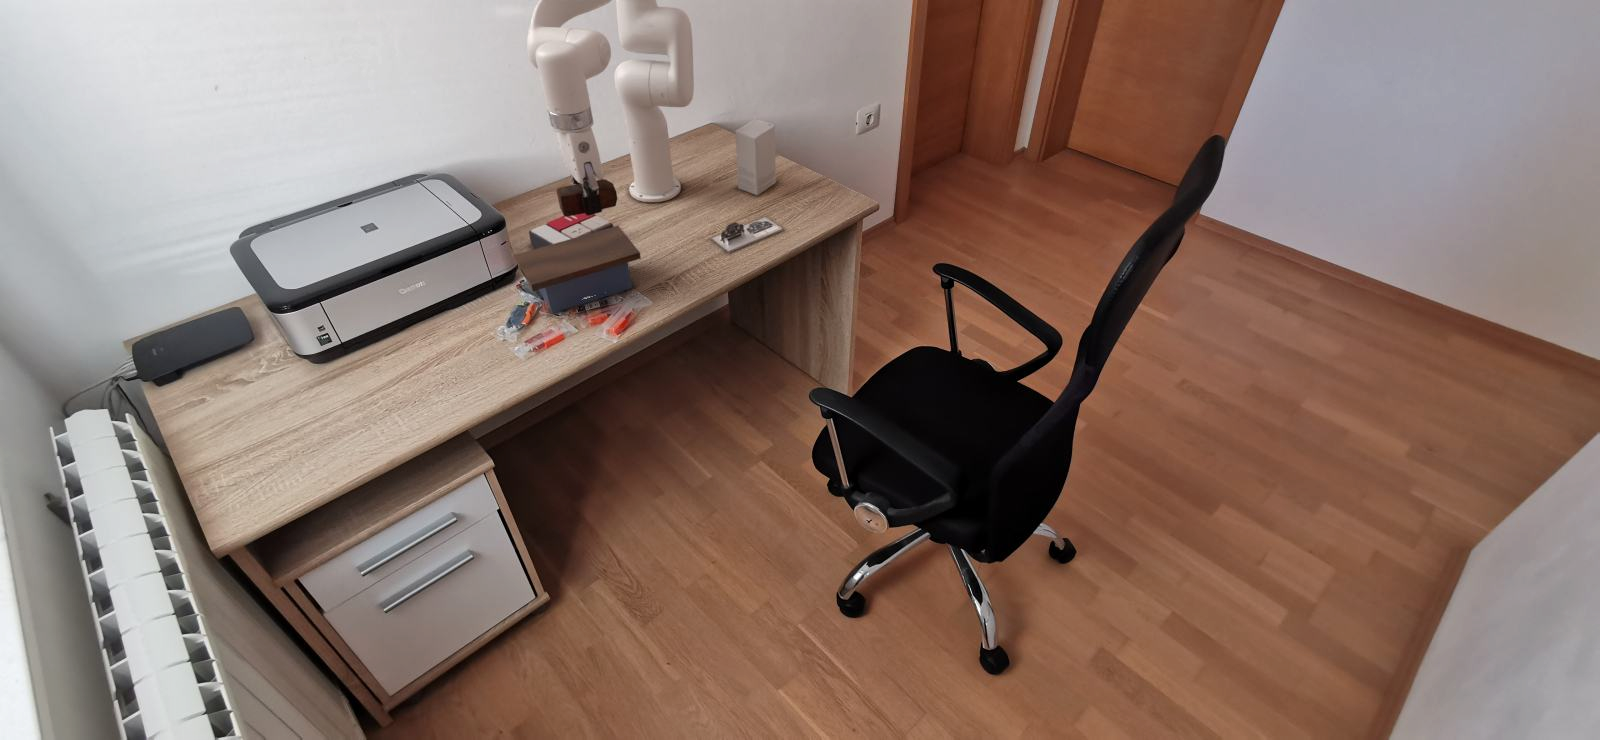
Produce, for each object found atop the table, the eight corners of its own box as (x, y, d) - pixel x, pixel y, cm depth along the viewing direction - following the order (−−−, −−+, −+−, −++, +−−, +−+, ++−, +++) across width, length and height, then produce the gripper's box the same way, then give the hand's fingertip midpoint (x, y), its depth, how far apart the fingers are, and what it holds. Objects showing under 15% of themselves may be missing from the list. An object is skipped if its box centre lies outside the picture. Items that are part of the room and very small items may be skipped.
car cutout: (729, 252, 165) (727, 234, 162) (712, 239, 169) (711, 222, 166) (782, 230, 172) (782, 213, 169) (765, 218, 176) (764, 201, 173)
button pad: (613, 221, 168) (557, 246, 159) (615, 238, 171) (561, 263, 161) (582, 205, 173) (527, 228, 164) (585, 221, 176) (530, 245, 167)
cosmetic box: (757, 176, 192) (755, 117, 181) (778, 183, 189) (777, 124, 179) (736, 189, 187) (733, 129, 176) (757, 196, 184) (755, 136, 174)
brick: (565, 218, 143) (560, 196, 139) (560, 209, 145) (555, 187, 142) (619, 207, 146) (615, 185, 143) (613, 197, 149) (609, 176, 146)
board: (515, 261, 150) (513, 254, 149) (619, 231, 158) (618, 225, 157) (533, 291, 142) (531, 285, 141) (641, 258, 151) (639, 252, 150)
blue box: (537, 288, 155) (529, 260, 150) (615, 264, 161) (609, 237, 157) (552, 313, 149) (544, 284, 144) (632, 288, 155) (627, 259, 150)
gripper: (608, 129, 130) (623, 221, 142) (575, 96, 140) (592, 185, 152) (566, 138, 127) (585, 232, 139) (535, 104, 137) (556, 194, 149)
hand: (589, 206), depth 145 cm, fingers closed on brick, 4 cm apart
